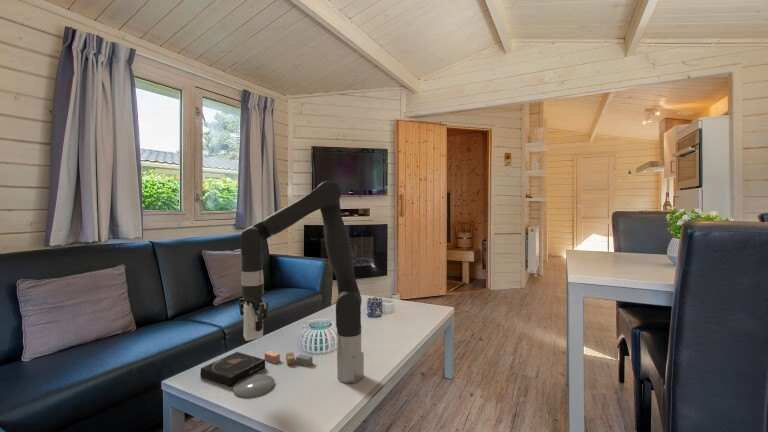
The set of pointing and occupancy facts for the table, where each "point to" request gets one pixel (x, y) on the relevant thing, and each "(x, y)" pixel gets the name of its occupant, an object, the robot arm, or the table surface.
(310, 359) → the gray brick
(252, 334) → the skincare box
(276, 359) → the terracotta brick
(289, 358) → the tan brick
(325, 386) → the table surface
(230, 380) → the portable cd player
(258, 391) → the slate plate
